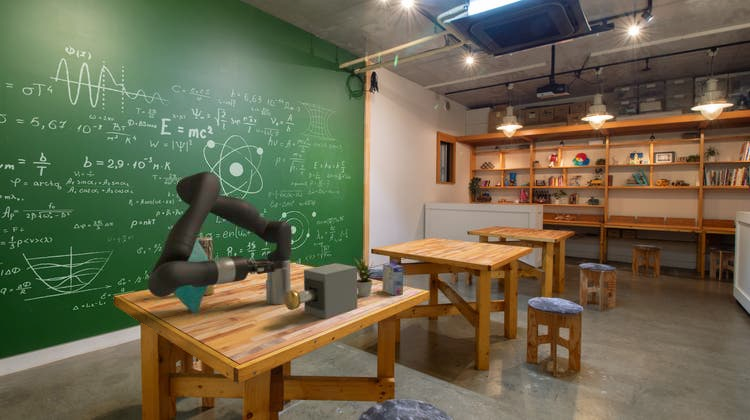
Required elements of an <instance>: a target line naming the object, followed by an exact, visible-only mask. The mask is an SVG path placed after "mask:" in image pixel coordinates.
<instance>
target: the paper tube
mask: <svg viewBox="0 0 750 420" xmlns="http://www.w3.org/2000/svg"><path fill="white" fill-rule="evenodd" d="M197 239H198V242H199V244H200V245H201V247H202V249H203V251H204V252H205V254H206V256H207V258H208V259H209V260H214V253H213V252H214V251H213V247H214V246H213V237H209V236H208V237H197ZM214 293H215V285H211V286H208V287H207V289H206V291H205V294H204V295H208V296H211V295H213V294H214ZM210 294H211V295H210Z"/></svg>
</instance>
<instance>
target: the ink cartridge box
mask: <svg viewBox="0 0 750 420" xmlns="http://www.w3.org/2000/svg"><path fill="white" fill-rule="evenodd" d="M382 291H383V292H385V293H387V294H389V295H391V296H398V295H399V296H400V295H403V294H404V267H403V266H402V265H398V259H393V260H392V261H391V263H383V264H382Z"/></svg>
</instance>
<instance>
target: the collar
mask: <svg viewBox="0 0 750 420" xmlns="http://www.w3.org/2000/svg"><path fill="white" fill-rule="evenodd" d="M303 285H304V286H303V289H304V290H303V291H305V290H309V289H310V287H312V288H316V289H317V301H315V300H312V301H308V302H305V303H304V306H305V305H306V306H309V307H312V308H315V309H319V310H322V311H323V310H324V285H323V282H320V281H316V280H311V279H307V278H304V277H303Z"/></svg>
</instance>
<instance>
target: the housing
mask: <svg viewBox="0 0 750 420" xmlns="http://www.w3.org/2000/svg"><path fill="white" fill-rule="evenodd" d="M354 266H355V265H346V264H342V263H336V262H335V263H331V264H326V265H321V266H317V267H316V266H315V267H311V268H307V269H306V268H305V269H303V279H304V278H307V279H311V280H316V281H320V282H323V285H324V310H323V311H322V310H319V309H315V308H312V307H309V306H306V305H305V304H304V313H306V314H310V315H313V316H315V317H318V318H322V319H324V320H327V319H330V318H333V317H336V316H339V315H341V314H345V313H347V312H351V311H353V310H357V309H358V289H357V280H358V275H357V274H358V272H357V270H358V268H357V267H356V266H355V267H354ZM310 289H313V288H312V287H310ZM315 301H317V299H315Z"/></svg>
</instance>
